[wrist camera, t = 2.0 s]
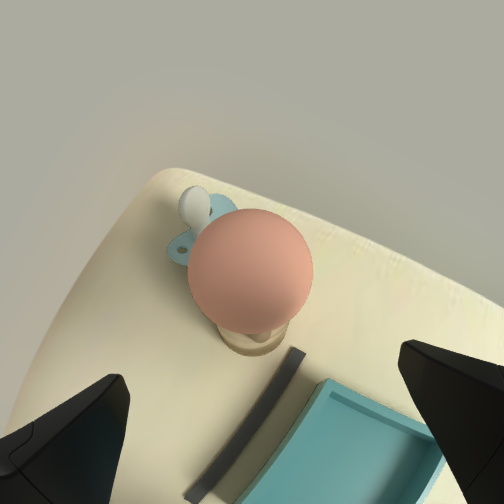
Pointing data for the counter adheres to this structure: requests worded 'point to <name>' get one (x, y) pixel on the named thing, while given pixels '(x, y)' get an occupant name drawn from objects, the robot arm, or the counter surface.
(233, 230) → the ball
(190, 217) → the pacifier
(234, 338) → the knobbed tan cylinder
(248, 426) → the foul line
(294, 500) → the tray
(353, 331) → the counter surface
